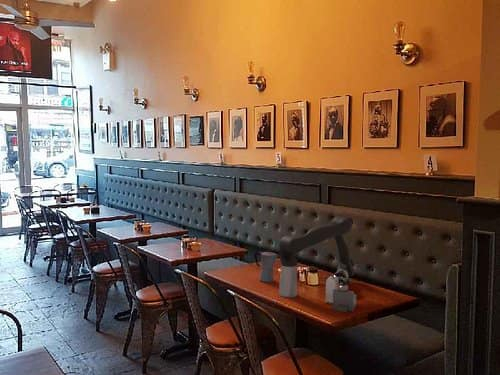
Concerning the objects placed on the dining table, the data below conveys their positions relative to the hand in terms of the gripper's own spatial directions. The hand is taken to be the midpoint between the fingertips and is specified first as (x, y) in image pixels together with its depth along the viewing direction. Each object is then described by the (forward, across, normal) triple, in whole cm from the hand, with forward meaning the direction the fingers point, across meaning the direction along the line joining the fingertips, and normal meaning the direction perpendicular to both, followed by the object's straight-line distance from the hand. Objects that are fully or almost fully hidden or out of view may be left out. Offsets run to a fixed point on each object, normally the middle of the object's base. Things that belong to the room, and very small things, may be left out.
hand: (335, 283), depth 266 cm
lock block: (+10, 0, +7) cm, 12 cm away
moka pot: (-13, -46, +7) cm, 49 cm away
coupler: (+21, +8, +7) cm, 23 cm away
